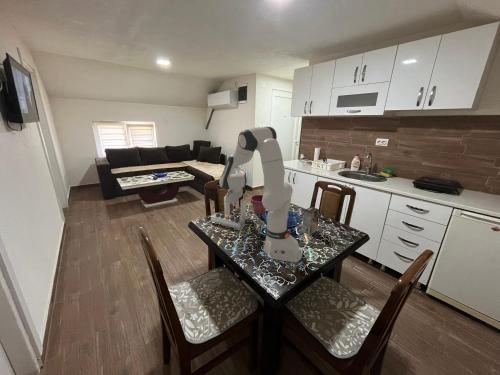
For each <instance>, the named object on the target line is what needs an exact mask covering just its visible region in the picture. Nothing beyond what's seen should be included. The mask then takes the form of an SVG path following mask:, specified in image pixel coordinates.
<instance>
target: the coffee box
mask: <svg viewBox="0 0 500 375" xmlns="http://www.w3.org/2000/svg"><path fill="white" fill-rule="evenodd" d="M319 217H320V208H317V207H313V206H309V207H308V208H306V209H303V216H302V224H301V225H302V226H301V232H302V233H304V234H307V235H308V236H310V235H312V234H314V233H315V232H317V231H318V224H319Z"/></svg>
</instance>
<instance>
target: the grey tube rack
mask: <svg viewBox="0 0 500 375" xmlns="http://www.w3.org/2000/svg"><path fill="white" fill-rule="evenodd" d="M211 221H213V222H216V223H220V224H223V225H226V226H230V227H233V228H235V229H234V230H236V229H239V230H238V231H240V230H241V229H242V228H243V227H244V226H245V225H246V224H245V223H246V221H245V219H241V217H239V216H236V217H235V216H234V215H232V216H231V214H230V215H225V213H220V212H215V213H214V214H213V215H211V216H210V222H211ZM245 227H246V226H245ZM245 227H244V228H245ZM244 228H243V229H244ZM241 231H242V230H241Z"/></svg>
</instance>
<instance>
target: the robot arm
mask: <svg viewBox="0 0 500 375" xmlns="http://www.w3.org/2000/svg"><path fill="white" fill-rule="evenodd" d="M277 138H278V137H277V131H276V130H275V129H274V128H273V126H272V127H271V126H259V127H252V128H249V129H244V130H241V131H240V132H239V134H238V137H237V142H236V146H235V150H234V151H233V152H232V154H230V155H229V156H228V158H227V161H226V163H225V166H224V169H223V171H222V174H221V176H220V177H219V182H218V183H219V184H218V185H219V187H220V188H221V189H223V190H224V191H227V193H226V194H225V196H226V199H225V203H226V204H230V205H231V204H232V207H235V206H237V201H238V199H240V198H242V197H243V194H244V193H243V191H244V190H243V188H244V187H246V185H247V182H248V177H247V176H246V175H245V174H244V173H242V172H241V170H240V167H239V166H242V165H244V164H247V163H249V162H251V160H252V158H254V153H255V151H258V153H259V156H260V162H261V168H262V173H263V194H262V195H263V198H262V204H263V206H264V208H265V209H266V210H267V211H268V212H267V215H266V228H265V241H264V244H263V248H262V249H263V252H264V253H265V254H266V255H267V257H268V259H270V260H271V259H272V260H277V261H283V262H289V263H290V262H291V263H298V262H299V261H300V260H301V259H302V257H303V252H304V251H303V248H302V247H301V246H300V244H299V241H298V240H297V239H296V238H294V237H293V235H291V229H288V227H287V226H288V217H289V211H290V206H291V201H292V196H293V192H294V189H293V187H292V185H291V184H290V183H288V182H285V174H286V171H285V165H284V159H283V154H282V151H281V147H280V144H279V142H278V140H277Z"/></svg>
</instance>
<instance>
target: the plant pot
mask: <svg viewBox="0 0 500 375" xmlns="http://www.w3.org/2000/svg"><path fill="white" fill-rule="evenodd" d="M262 198H263V194H256V195H252V196H251V197H250V204H251V205H252V209H253V210H252V211H253V214H255V215H257V214H259V215H258V216H261V215H260V214H262V213H264V212H265V213H266V210H267V209H265V208H264V206H263V204H262ZM265 213H264V214H265ZM262 215H263V214H262Z"/></svg>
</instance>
